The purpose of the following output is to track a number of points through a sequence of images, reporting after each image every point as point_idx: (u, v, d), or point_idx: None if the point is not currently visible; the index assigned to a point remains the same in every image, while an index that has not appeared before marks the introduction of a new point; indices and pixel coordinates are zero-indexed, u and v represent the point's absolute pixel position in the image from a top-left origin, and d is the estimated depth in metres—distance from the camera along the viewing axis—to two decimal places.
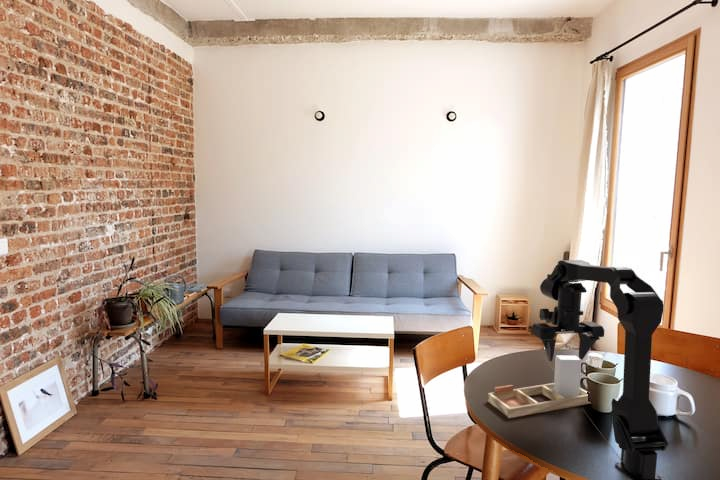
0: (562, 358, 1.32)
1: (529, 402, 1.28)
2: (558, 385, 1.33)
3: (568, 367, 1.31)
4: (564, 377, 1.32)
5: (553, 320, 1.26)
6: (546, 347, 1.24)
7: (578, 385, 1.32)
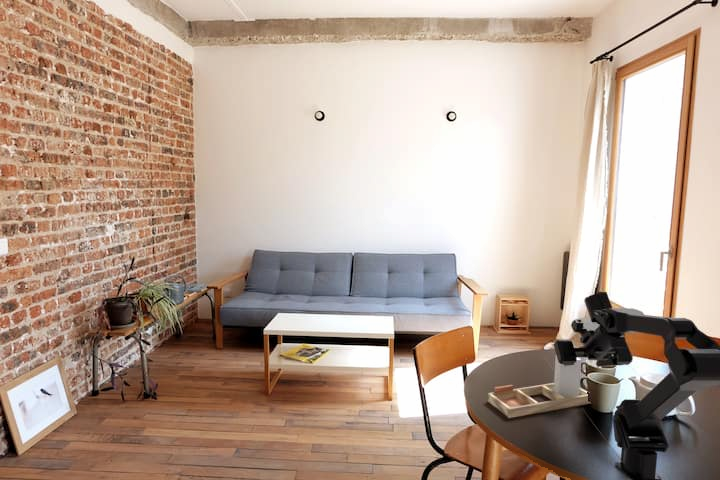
0: None
1: (529, 402, 1.28)
2: (558, 385, 1.33)
3: (568, 367, 1.31)
4: (564, 377, 1.32)
5: (582, 339, 1.18)
6: None
7: (578, 385, 1.32)
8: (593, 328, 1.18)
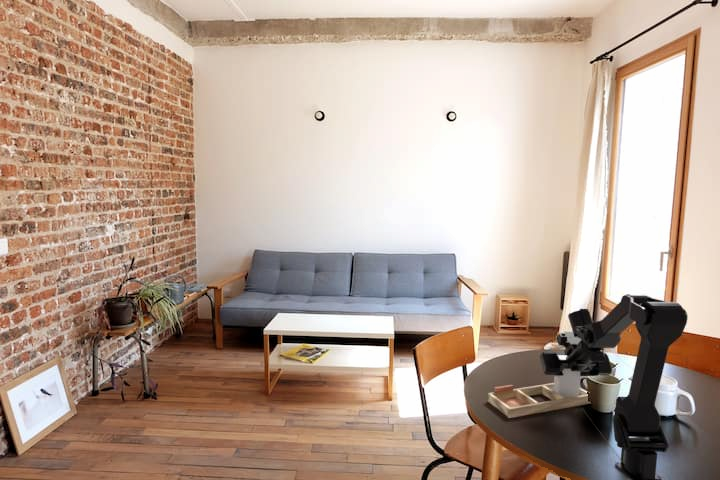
0: (562, 358, 1.32)
1: (529, 402, 1.28)
2: (557, 385, 1.33)
3: None
4: (564, 377, 1.32)
5: (566, 352, 1.28)
6: None
7: (578, 385, 1.32)
8: (576, 341, 1.28)
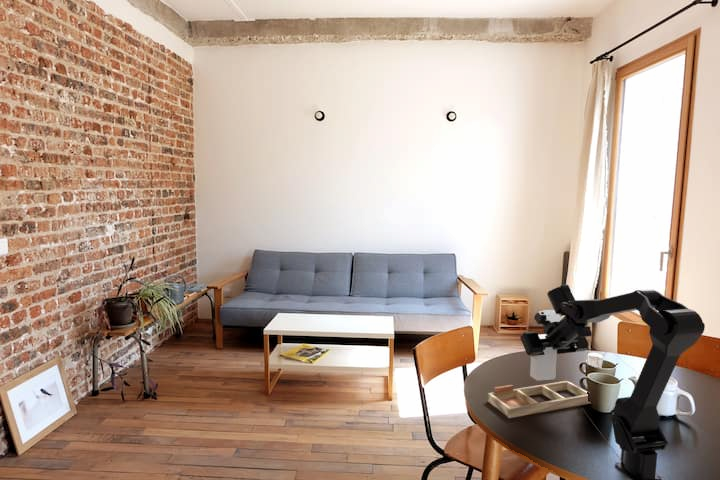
0: (540, 337, 1.30)
1: (529, 402, 1.28)
2: (536, 366, 1.30)
3: None
4: (542, 356, 1.29)
5: (546, 330, 1.25)
6: None
7: (555, 363, 1.31)
8: (555, 319, 1.26)
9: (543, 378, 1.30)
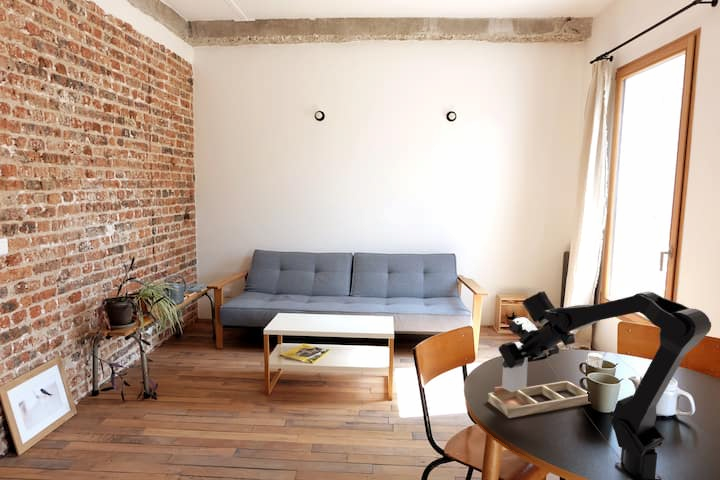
0: None
1: (529, 402, 1.28)
2: (510, 377, 1.25)
3: None
4: (516, 367, 1.25)
5: (523, 340, 1.21)
6: None
7: (526, 372, 1.27)
8: (529, 327, 1.22)
9: (516, 388, 1.26)
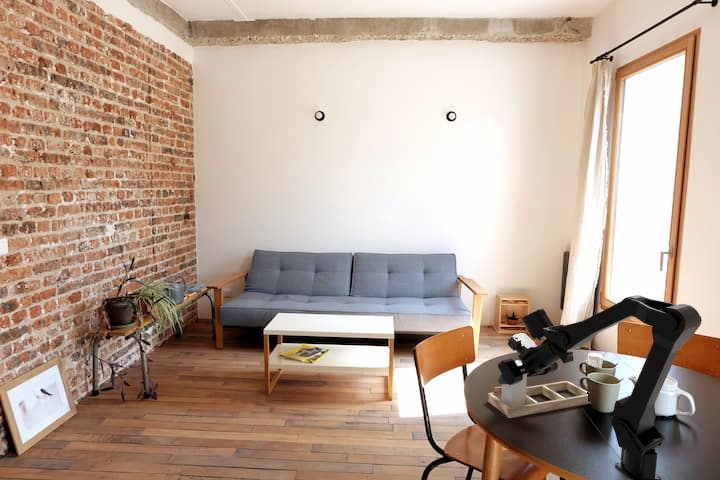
0: None
1: (529, 402, 1.28)
2: (509, 396, 1.26)
3: None
4: (515, 386, 1.25)
5: (522, 356, 1.21)
6: (503, 377, 1.23)
7: (525, 390, 1.28)
8: (528, 344, 1.23)
9: None
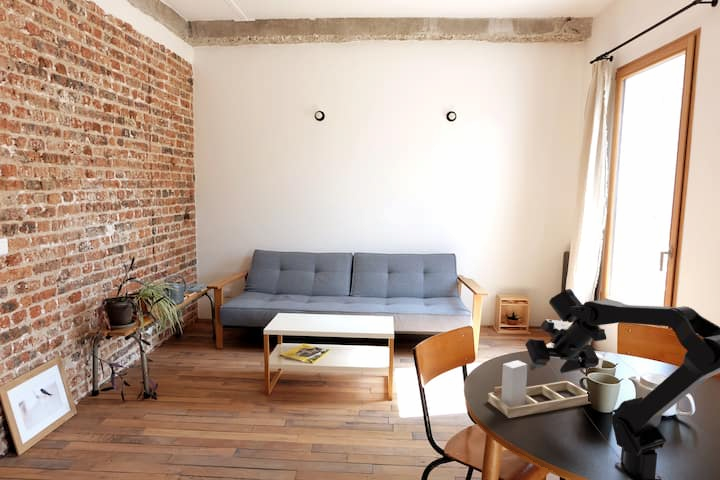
0: (512, 366, 1.25)
1: (529, 402, 1.28)
2: (509, 396, 1.26)
3: (518, 374, 1.26)
4: (515, 386, 1.25)
5: (553, 339, 1.17)
6: None
7: (525, 390, 1.28)
8: (563, 328, 1.18)
9: None
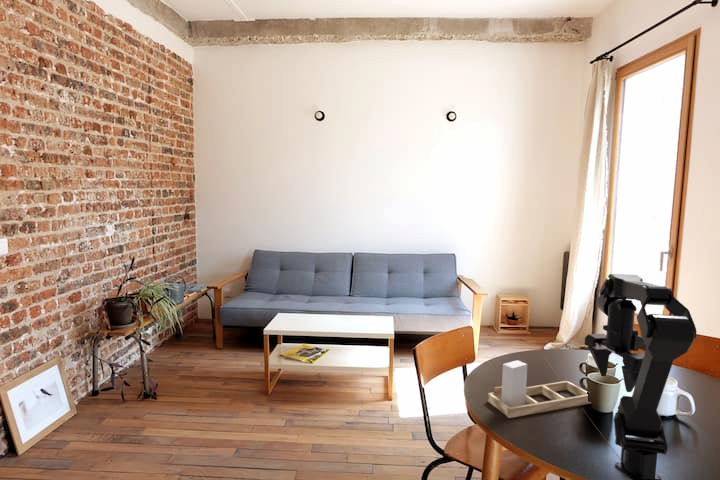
0: (512, 366, 1.25)
1: (529, 402, 1.28)
2: (509, 396, 1.26)
3: (518, 374, 1.26)
4: (515, 386, 1.25)
5: None
6: None
7: (525, 390, 1.28)
8: None
9: None
